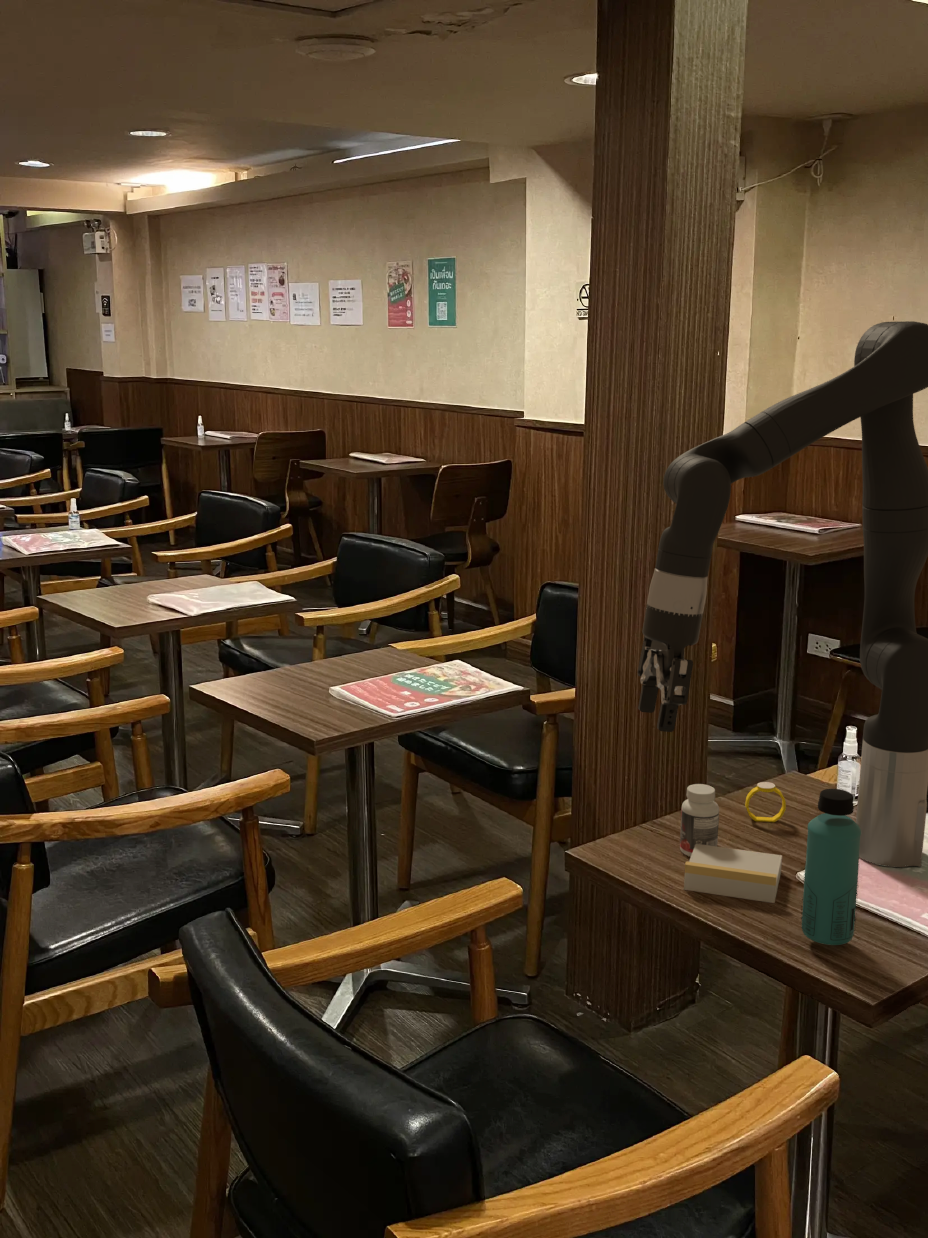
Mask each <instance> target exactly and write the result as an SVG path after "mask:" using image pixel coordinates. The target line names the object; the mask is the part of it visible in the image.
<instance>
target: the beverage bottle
mask: <svg viewBox="0 0 928 1238" xmlns="http://www.w3.org/2000/svg"><path fill="white" fill-rule="evenodd" d="M854 808H855V807H854V796H853V794H852V793H851V792H849V791H847V790H845V789H840V788H826V789H822V790H821V791H820V793H819V797H818V802H817V809H818V810H819V811H821V812H822V813H820V814H818V815H817V816H816V817H814V818H812V819H811V820H810V821H808V823H807V839H806V851H805V852H806V853H805V854H806V857H805V863H804V876H803V880H802V882H803V884H802V888H803V889H802V892H803V894H802V897H801V898H802V899H801V906H800V907H801V908H802V910H801V913H800V914H801V915H800V916H801V917H800V927H801V930H802V933H803V935H804V936H805V937H806V938H808V939H810V940H811V941H813V942H816V943H819V944H821V945H829V946H840V945H844V944H848V943H850V942H851V941H852V939H853V937H854V936H855V931H856V927H855V925H856V924H857V912H856V911H857V902H858V898H859V897H858V895H859V893H858V892H859V890H858V889H859V883H860V881H859V870H860V869H859V868H860V857H859V849H860V836H861V829H860V827H859V826H858V825H857V824H856V821H854V820H853V819H852V818H851V817H849V815H851V814H853V813H854Z"/></svg>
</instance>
